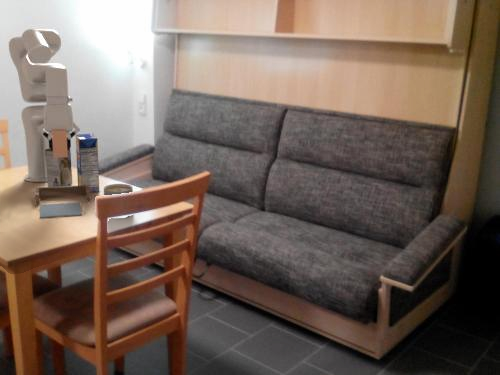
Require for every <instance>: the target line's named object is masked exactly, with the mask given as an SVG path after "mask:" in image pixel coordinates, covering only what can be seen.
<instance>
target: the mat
mask: <svg viewBox="0 0 500 375" xmlns="http://www.w3.org/2000/svg"><path fill="white" fill-rule="evenodd" d="M76 216H77V217H78V216H79V217H80V216H83V213H82V205H81V201H79V202H78V201H77V202H65V203H63V202H60V203H44V204H40V209H39V219H47V218H48V219H49V218H63V217H64V218H65V217H76Z"/></svg>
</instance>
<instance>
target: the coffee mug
mask: <svg viewBox="0 0 500 375" xmlns="http://www.w3.org/2000/svg"><path fill="white" fill-rule="evenodd" d="M133 191H134V189H133V186H132V185H131V184H125V183H113V184H112V183H111V184H107V185H105V186H104V187H103V196H104V195H112V194H121V193H129V192H133ZM133 193H134V192H133Z"/></svg>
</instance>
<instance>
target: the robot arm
mask: <svg viewBox="0 0 500 375" xmlns="http://www.w3.org/2000/svg"><path fill="white" fill-rule="evenodd" d="M61 46H62V40H61V36H60V34H59V33H58V32H57V31H56V30H54V29H46V28H43V29H42V28H28V29H26V30H25V31H23V32H22V34H21V36H16V37H12V38H10V39H9V41H8V50H9V51H8V52H9V55H10V59H11V61H12V63H13V65H14V66H15V69H16V72H17V75H18V81H19V87H20V93H21V97H22V99H23V101H24V102H25V103H27V104H39V105H29V106H26V107H24V108H23V109H22V111H21V120H22V125H23V129H24V130H23V131H24V135H25V136H24V137H25V147H26V161H27V162H26V163H27V171H28V172H27V175H24V180H25V181H27V182H30V183H44V182H45V183H46V182H47V169H46V155H45V150H46V149H49V148H51V151H53V142H52V130H66V133H67V150H69V147H70V148H71V147H72V144H71V142H72V141H71V140H72V138H73V137H74V136H76V135H75V134H79V132H81V131H80V130H81V129H80V128H79V126H78V125H77V124H76V123H75V122H74V117H73V109H72V105H71V102H73V97H70V96H69V85H68V70H67V67H65V66H64V65H62V64H61V63H49V62H50V61H51V59H52V58H53V57H54V56H55V55H56V54H57V53H58V52H59V51H60V49H61ZM43 104H44V105H43Z"/></svg>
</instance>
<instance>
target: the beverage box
mask: <svg viewBox="0 0 500 375" xmlns="http://www.w3.org/2000/svg"><path fill="white" fill-rule="evenodd" d="M74 136H75V150H76V151H75V152H76V153H75V154H76V155H75V156H76V173H77V186H83V185H89V190H90V194H91V193H93V194H94V193H100V176H99V175H100V174H99V171H100V170H99V152H98V151H99V149H98V147H99V146H98V138H97V137H96V135H95V134H94V133H82V134H81V133H80V134H79V133H76V134H75V135H74Z"/></svg>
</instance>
